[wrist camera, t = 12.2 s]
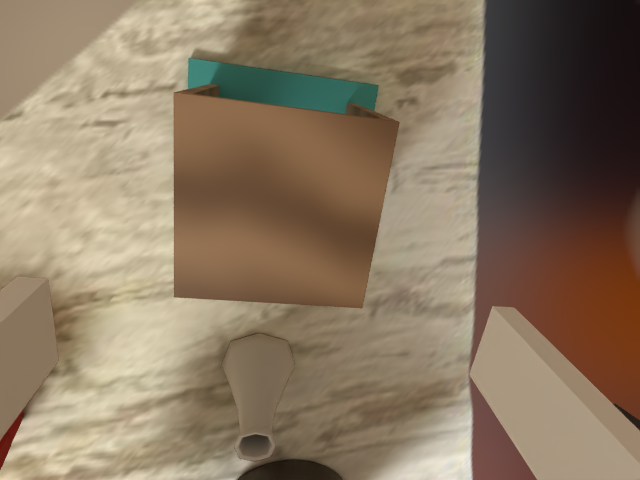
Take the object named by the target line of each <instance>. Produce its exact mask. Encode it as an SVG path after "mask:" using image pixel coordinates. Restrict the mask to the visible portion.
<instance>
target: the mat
mask: <svg viewBox="0 0 640 480" xmlns="http://www.w3.org/2000/svg"><path fill="white" fill-rule="evenodd" d="M207 84H214V85H219V97H220V98H227V99H235V100H243V101H250V102H258V103H266V104H273V105H281V106H288V107H296V108H304V109H311V110H319V111H326V112H334V113H342V114H345V113H346V107H347V103H353V104H358V105H360V106H362V107H365V108H367V109H369V110H372V111H374V108H375V103H376V97H377V91H378V86H379V85H372V84H365V83H358V82H351V81H344V80H337V79H331V78H324V77H317V76H310V75H303V74H296V73H289V72H282V71H275V70H268V69H261V68H254V67H247V66H241V65H234V64H227V63H220V62H213V61H206V60H199V59H192V58H189V67H188V89H191V88H195V87H199V86H203V85H207Z"/></svg>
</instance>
